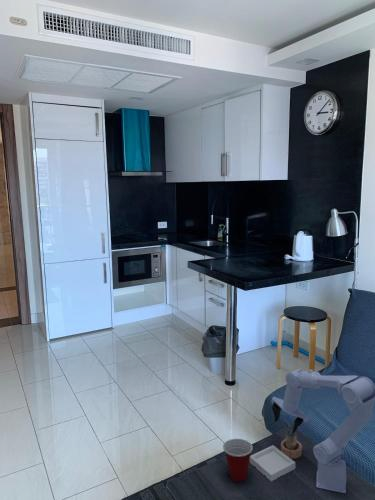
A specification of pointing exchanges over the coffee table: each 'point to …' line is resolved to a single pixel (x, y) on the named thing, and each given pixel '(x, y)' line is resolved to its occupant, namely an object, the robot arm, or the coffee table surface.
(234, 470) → the plastic cup
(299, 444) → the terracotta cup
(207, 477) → the coffee table surface
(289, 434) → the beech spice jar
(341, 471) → the robot arm
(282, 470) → the grey tray
